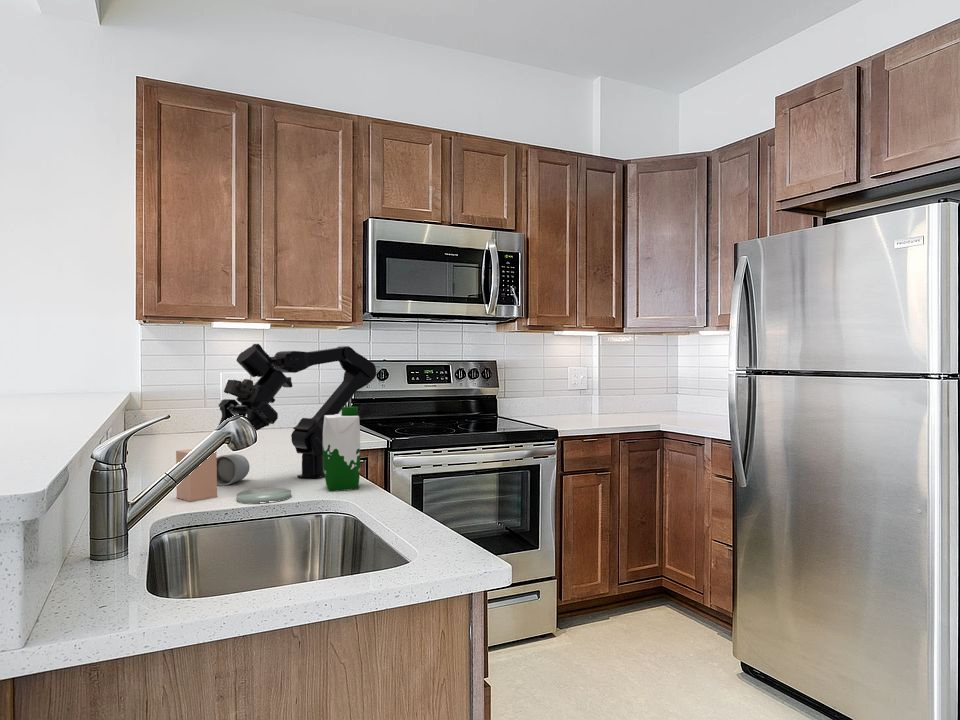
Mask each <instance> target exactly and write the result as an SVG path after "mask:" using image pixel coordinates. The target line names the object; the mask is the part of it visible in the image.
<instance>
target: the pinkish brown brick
mask: <svg viewBox="0 0 960 720" xmlns="http://www.w3.org/2000/svg"><path fill="white" fill-rule="evenodd" d="M192 449H193V448H192ZM192 449H191V448H190V449H182V450H176V451H175V460H176V462H175V465H176V464H177V463H178V462H180V461H181V460H182V459H183V458H184V457H185V456H186V455H187V454H188V453H189V452H190V451H192ZM217 457H218V456H217V451H216V452H215V453H213V454H212V455H211V456H210V457H209V458H208V459H206V460H205V461H204V462H203V463H202V464H201V465H200V466H198V467H197V468H196V469H195V470H194V471H193V472H192V473H191V474H190V475H188V476H187V477H186V478H185V479H184V480H183V481H182V482H181V483H180V484H179V485H178V486H177V485H176V499H178V498H180V499H179V500H182V499H184V500H183V501H186V500H188V501H187V502H189V501H192V502H195V501H194V500H197V501H202V500H201V499H203V500H207V499H212V498H217V497H218V485H217Z"/></svg>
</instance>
